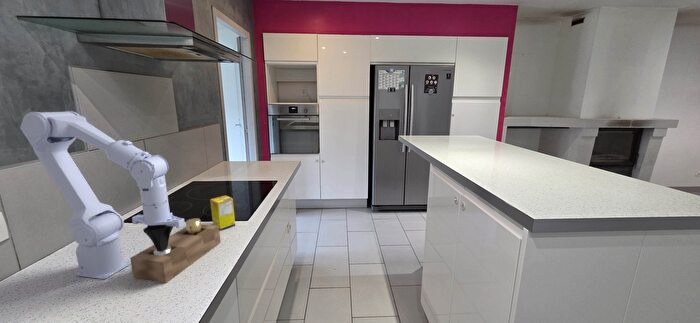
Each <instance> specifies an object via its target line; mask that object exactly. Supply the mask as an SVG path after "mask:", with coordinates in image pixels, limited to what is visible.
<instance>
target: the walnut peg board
mask: <svg viewBox="0 0 700 323" xmlns="http://www.w3.org/2000/svg"><path fill="white" fill-rule="evenodd" d="M201 230H202V232H200V233H199V234H197V235H187V228H186V226H185V227H183V228H182V229H181V228H180V230H178V231H176V232H174V233H173V234H170V236H169V241H168V246H170V247H171V251H170V252H168V253H167V254H165V255H163V256H159V255H154V250H155V249H156V247H155V245H154V244H152V245H151V246H149V247H148V248H146V249H144V250H142V251H140V252H139V253H137V254H135V255H132V256H131V257H130V258H129V259H130V260H129V261H130V262H131V264H130V266H131V271H132V276H133V279H134V280H139V281H140V280H141V281H148V282H155V283H162V284H167V283H168V282H170V281H171V280H173V279H174V278H175V277H177V276H178V275H179V274H181V273H182V272H183V271H185V270H186V269H187V268H188V267H190V266H191V265H193V264H194V263H196V262H197V261H198V260H200V259H201V258H202V257H204V256H205V255H206V254H207V253H210V251H212V250H213V249H215V247H217V246H218V245H220V244H221V234H220V230H219V226H214V225H213V224H212V225H211V224H201Z"/></svg>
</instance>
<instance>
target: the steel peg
mask: <svg viewBox="0 0 700 323" xmlns="http://www.w3.org/2000/svg"><path fill="white" fill-rule="evenodd" d="M170 251H171V247H170V246H168V247H167V249H165V250H163V251H162V252H161V251H157V249H155V250H154V255H159V256H163V255H165V254H167V253H168V252H170Z"/></svg>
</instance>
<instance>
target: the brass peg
mask: <svg viewBox="0 0 700 323" xmlns="http://www.w3.org/2000/svg"><path fill="white" fill-rule="evenodd" d="M201 223H202V222H201V219H200V218H198V217H197V218H194V217H193V218H189V219H187V220H185V227H186V228H187V235H197V234H199V233H200V232H202V230H201Z"/></svg>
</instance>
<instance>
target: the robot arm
mask: <svg viewBox="0 0 700 323" xmlns="http://www.w3.org/2000/svg"><path fill="white" fill-rule="evenodd" d="M19 129H20V131H21V132H22V133H23V135H24V137H26V139H27V141H28V142H29V144H30V146H31V147H32V149H33V152H34V154H35V155H36V157H37V159H38V160H39V161H40V163H41V164H42V167H43V168H44V169H45V170H46V172H47V173H48V175H49V176H50V179H51V180H52V181H53V183H54V185H55V186H56V187H57V189H58V191H60V193H61V195H62V196H63V198H64V199H65V201H66V203H67V204H68V206H69V207H70V208H71V210H72V212H73V213H74V214H73V215H72V217H71V218H70V219H69V222H68V224H67V226H68V227H69V228H70V230H71V235H72V238H73V240H74V242H75V243H77V244H78V245H77V246H76V250H75V255H76V259H77V264H78V269H79V271H78V272H77V273H76V276H79V277H84V278H86V277H87V278H91V279H93V278H94V279H98V280H100V279H101V280H105V279H107V278H109V277H110V276H112V275H114V274H116V273H118V272H120V271H121V270H123V269H125V268H126V267H129V266H131V260H124V258H123V253H122V246H121V242H120V237H119V235H121V230H122V229H123V228H124V225H125V221H124V218H123V216H122V215H121V214H120V213H118V212H117V211H116V210H115V209H114V208H113V206H112V205H110V204H106V203H102V202H101V201H99V199H98V197H97V196H96V194H95V192H94V191H93V190H92V187H91V186H90V185H89V183H88V182H87V180H86V179H85V177H84V176H83V173H81V170H80V169H79V168H78V165H77V164H76V162H74V160H73V158H72V156H71V155H70V153H69V152H68V149H69V148H70V145H72V144H73V142H75V141H76V139H78V140H80V141H83V142H85V143H87V144H89V145H91V146H92V147H95V148H97V149H100V150H101V151H103V152H105V156H106V157H107V158H106V159H108V160H110V161H111V162H113V163H115V164H117V165H118V166H121V167H122V168H124V169H126V170H128V171H129V172H130V176H131V177H132V178H133V179H134V180H135V182H136V185H137V187H138V188H139V193H140V199H141V200H140V201H141V205H142V207H141V208H142V212H143V214H137V215H135V216H132V217H131V220H132V224H133V225H138V224H143V225H146V227H145V228H143V230H142V231H143V232H144V233H145V234H146V235H147V236H148V237H149V239H150V241H151V242H152V243H153V244H152V245H155V247H156V249H157V251H161V252H162V251H163V250H165V249H167V247H168V241H169V236H171V233H172V230H173V229H174V227H176V229H181V228H182V227H184V226H186V222H185V218H184V217H183V218H182V217H178V216H175V215H173V212H170V211H171V210H170V205H169V196H168V190H167V189H168V188H167V183H166V175H167V173H168V172H169V163H168V161H167V159H165V158H164V157H162V155H159V154H154V155H152V154H150V153H149V152H148V151H144V150H142V149H140V148H138V147H136V146H135V145H134V144H133V142H132V141H130V140H121V139H120V140H117V141H116V140H115V139H113V137H110V136H109V135H107V134H106V133H104V132H103V131H101V130H99V128H97V127H95V126H94V125H92V124H91V123H90V122H88V121H87V119H86V116H83V115H80V114H79V113H78V112H75V111H72V110H66V111H44V112H43V111H42V112H39V111H31V112H28V113H26V114H25V115H24V117H23V118H22V121H21V124H20V127H19Z"/></svg>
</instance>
